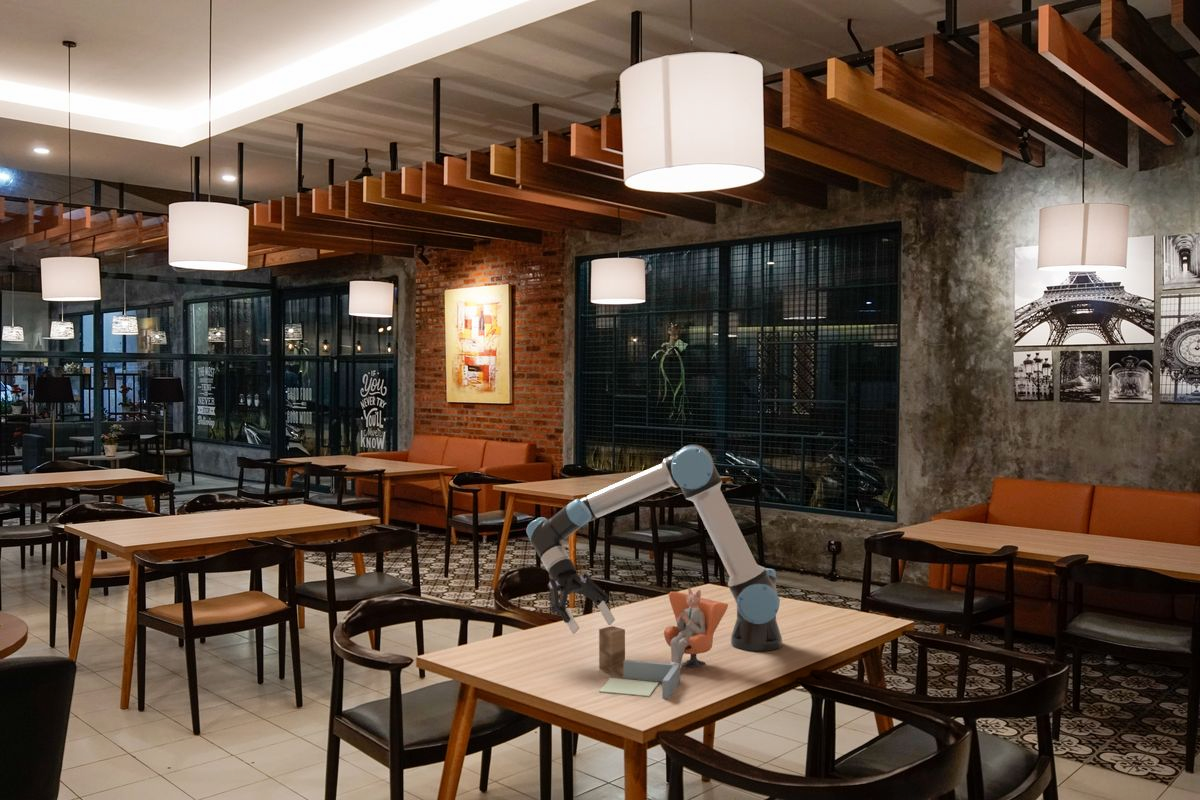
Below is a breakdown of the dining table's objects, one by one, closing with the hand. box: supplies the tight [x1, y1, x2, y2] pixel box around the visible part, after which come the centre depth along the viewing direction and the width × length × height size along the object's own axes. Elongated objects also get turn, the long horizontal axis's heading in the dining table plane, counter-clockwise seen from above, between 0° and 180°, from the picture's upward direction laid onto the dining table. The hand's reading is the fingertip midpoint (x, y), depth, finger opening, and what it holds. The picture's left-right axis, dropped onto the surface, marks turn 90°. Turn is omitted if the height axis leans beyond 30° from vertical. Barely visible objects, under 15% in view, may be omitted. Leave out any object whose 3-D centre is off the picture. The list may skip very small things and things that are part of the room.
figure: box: [663, 587, 729, 670], centre depth 255 cm, size 22×18×21 cm
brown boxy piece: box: [598, 625, 626, 677], centre depth 252 cm, size 10×5×11 cm, turn 44°
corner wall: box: [622, 659, 681, 700], centre depth 238 cm, size 15×14×4 cm
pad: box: [598, 677, 660, 698], centre depth 237 cm, size 13×11×1 cm
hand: (594, 626), depth 257 cm, fingers open, 13 cm apart
